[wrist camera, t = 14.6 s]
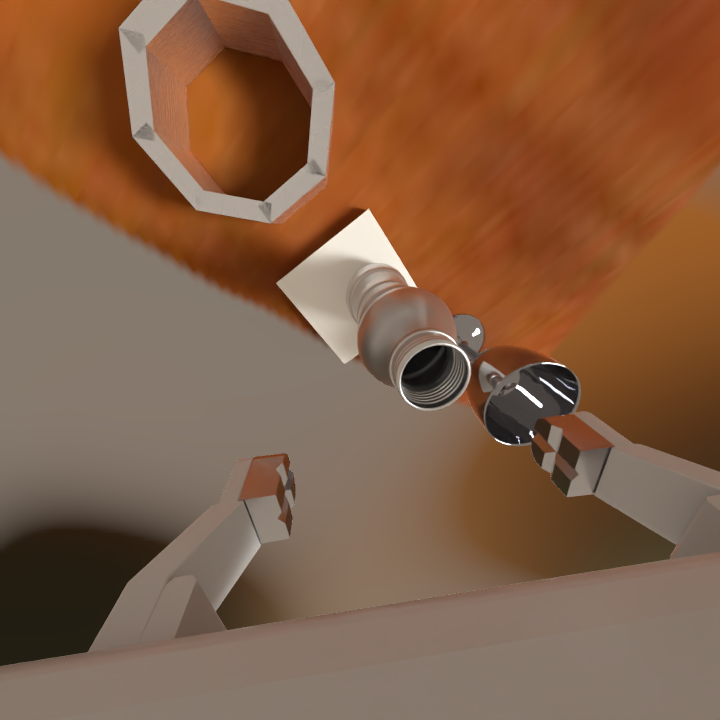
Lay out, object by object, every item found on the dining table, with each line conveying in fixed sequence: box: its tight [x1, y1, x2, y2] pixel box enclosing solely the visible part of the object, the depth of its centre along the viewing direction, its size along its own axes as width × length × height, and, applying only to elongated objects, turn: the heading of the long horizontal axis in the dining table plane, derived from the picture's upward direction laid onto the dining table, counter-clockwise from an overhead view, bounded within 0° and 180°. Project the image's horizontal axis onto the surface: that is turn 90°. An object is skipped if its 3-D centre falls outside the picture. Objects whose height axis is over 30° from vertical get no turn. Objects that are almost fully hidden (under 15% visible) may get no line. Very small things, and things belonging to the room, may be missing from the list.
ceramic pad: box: [276, 209, 417, 364], centre depth 32 cm, size 12×12×2 cm
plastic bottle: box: [346, 263, 471, 411], centre depth 23 cm, size 6×7×20 cm
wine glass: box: [453, 314, 581, 446], centre depth 30 cm, size 8×8×15 cm
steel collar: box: [119, 0, 335, 224], centre depth 23 cm, size 14×14×6 cm
